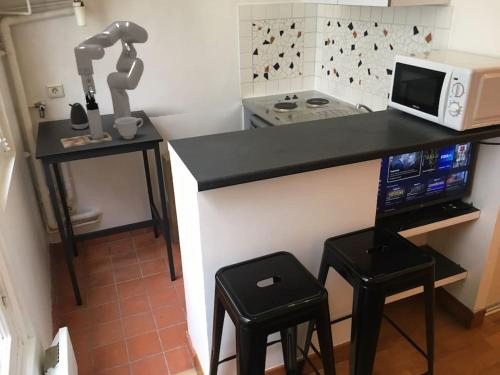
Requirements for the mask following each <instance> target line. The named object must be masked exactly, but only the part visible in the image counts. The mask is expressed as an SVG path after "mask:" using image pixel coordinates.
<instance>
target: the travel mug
mask: <svg viewBox="0 0 500 375" xmlns="http://www.w3.org/2000/svg"><path fill="white" fill-rule="evenodd" d="M85 108H86V109H85V110H86V113H87V116H88V120H89V124H88V126H89V131H90V135H91V136H92V137H91V141H92V140H98V139H104V138H105V135H103V133H104V131H103V130H104V129H103V125H102V119H101V113H100V112H101V111H100V108H99V103H98V102H96V107H90V105H89V103H88V104H87V103H86V104H85Z"/></svg>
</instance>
